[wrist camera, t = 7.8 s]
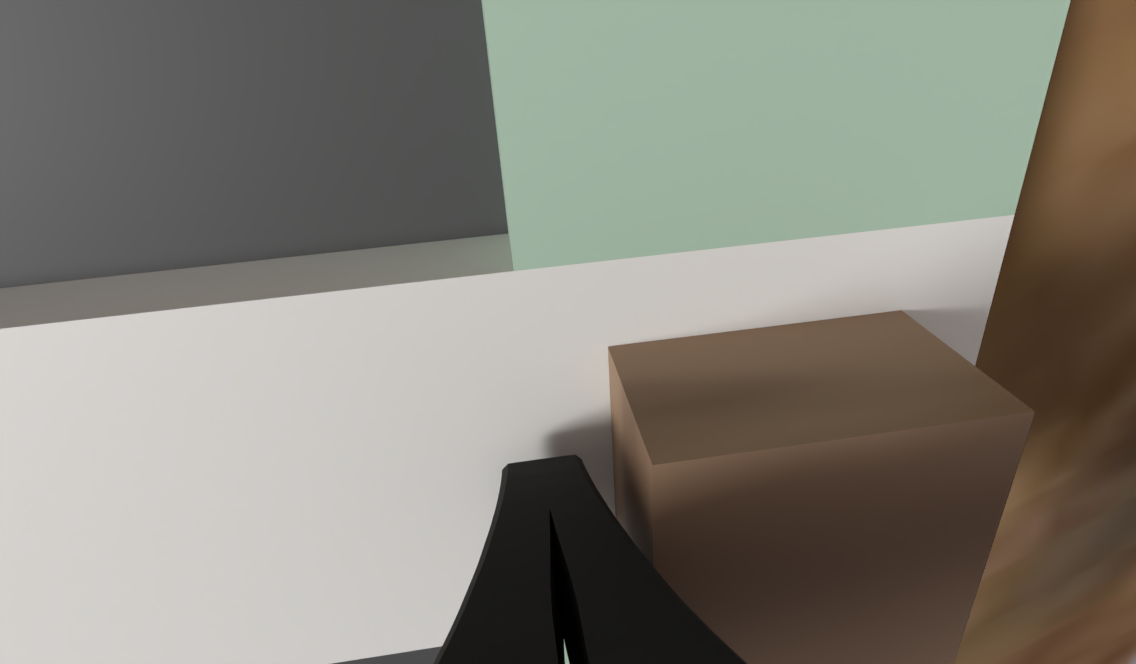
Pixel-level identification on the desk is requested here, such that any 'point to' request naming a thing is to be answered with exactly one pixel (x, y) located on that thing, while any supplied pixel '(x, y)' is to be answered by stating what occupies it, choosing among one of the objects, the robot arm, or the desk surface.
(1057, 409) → the desk surface
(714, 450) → the walnut block
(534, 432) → the trap board
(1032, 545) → the desk surface
